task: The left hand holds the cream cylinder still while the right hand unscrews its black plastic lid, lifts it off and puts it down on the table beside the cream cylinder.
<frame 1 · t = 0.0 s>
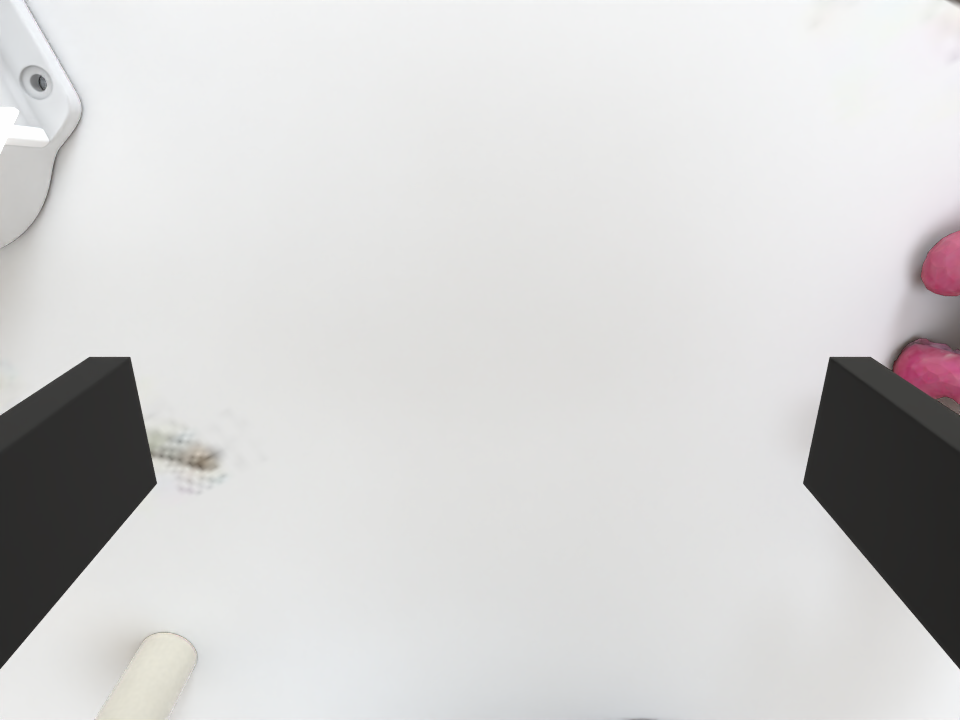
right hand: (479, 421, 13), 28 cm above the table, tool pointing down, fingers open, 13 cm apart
cream cylinder: (168, 654, 51), on the table
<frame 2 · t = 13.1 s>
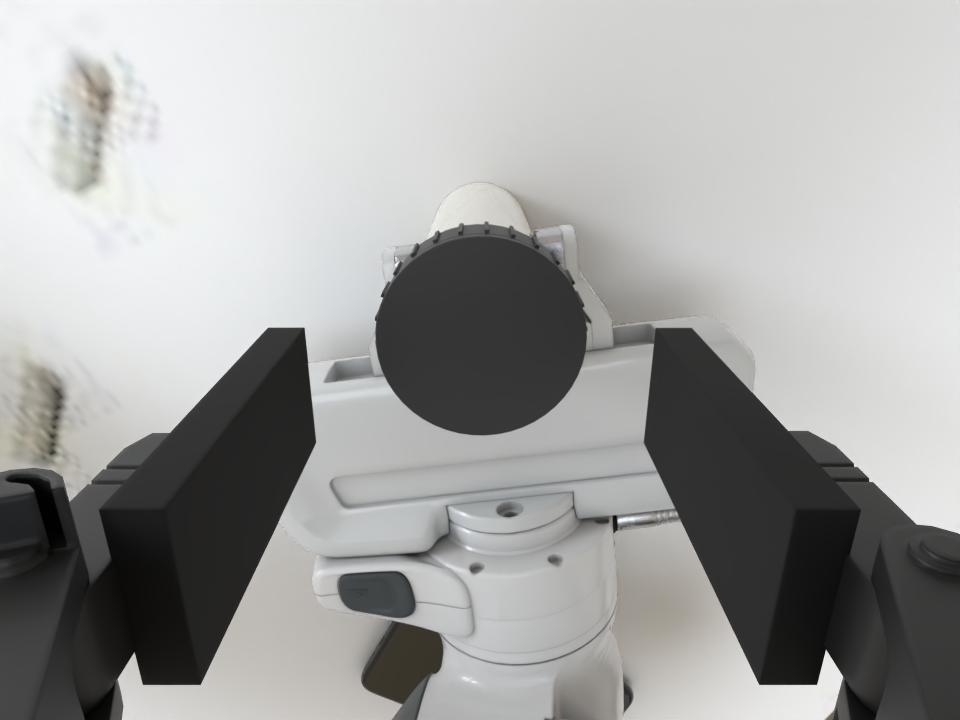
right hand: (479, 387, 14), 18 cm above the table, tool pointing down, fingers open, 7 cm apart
left hand: (476, 238, 25), fingers closed on cream cylinder, 4 cm apart
cream cylinder: (480, 230, 31), on the table, touching left hand
lid: (481, 337, 17), point 15 cm above the table, screwed on, not yet turned
smartphone: (497, 678, 42), on the table
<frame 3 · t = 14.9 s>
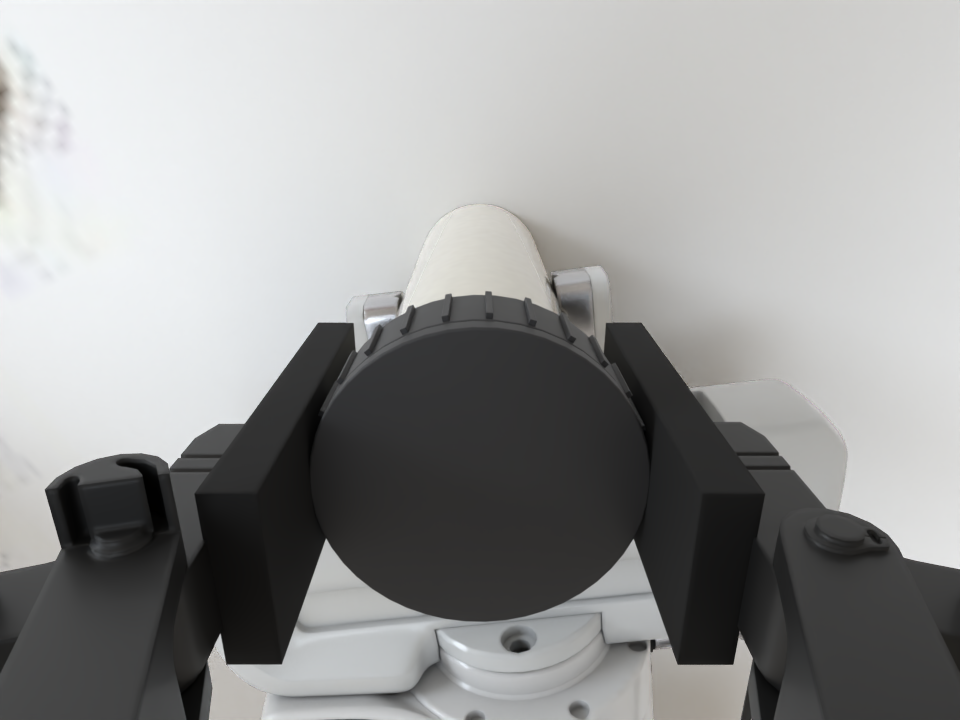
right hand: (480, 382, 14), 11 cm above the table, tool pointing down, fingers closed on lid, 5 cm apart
cream cylinder: (479, 263, 25), on the table, touching left hand
lid: (479, 477, 11), point 15 cm above the table, screwed on, not yet turned, touching right hand
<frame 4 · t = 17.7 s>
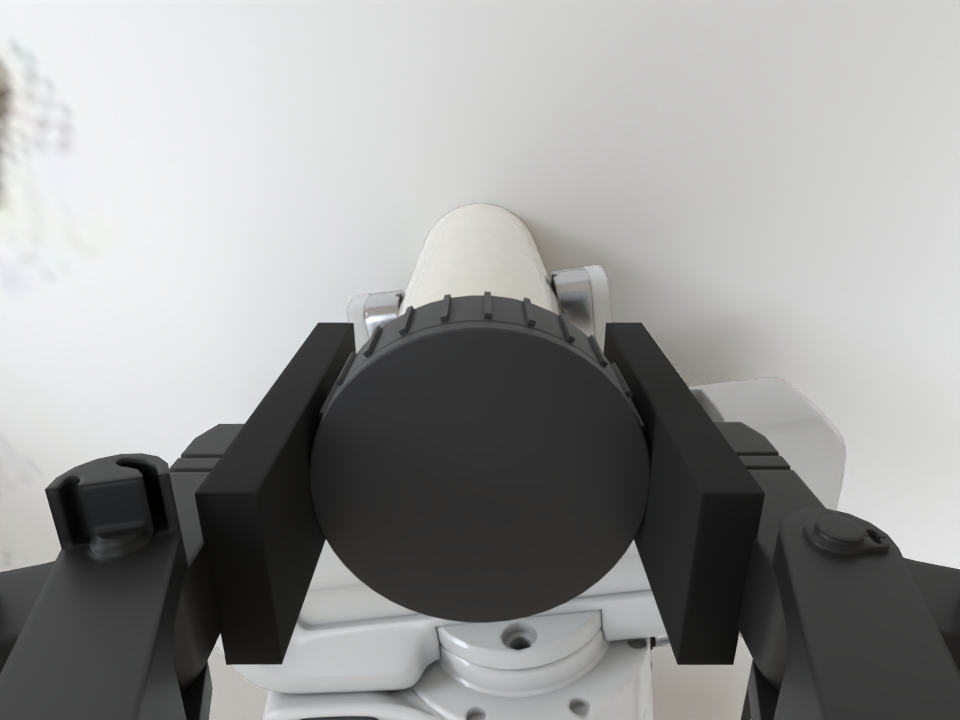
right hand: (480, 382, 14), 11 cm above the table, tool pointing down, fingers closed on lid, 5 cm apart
cream cylinder: (479, 262, 25), on the table, touching left hand
lid: (479, 478, 11), point 15 cm above the table, turned 83° so far, risen 0.1 cm, still on its thread, touching right hand
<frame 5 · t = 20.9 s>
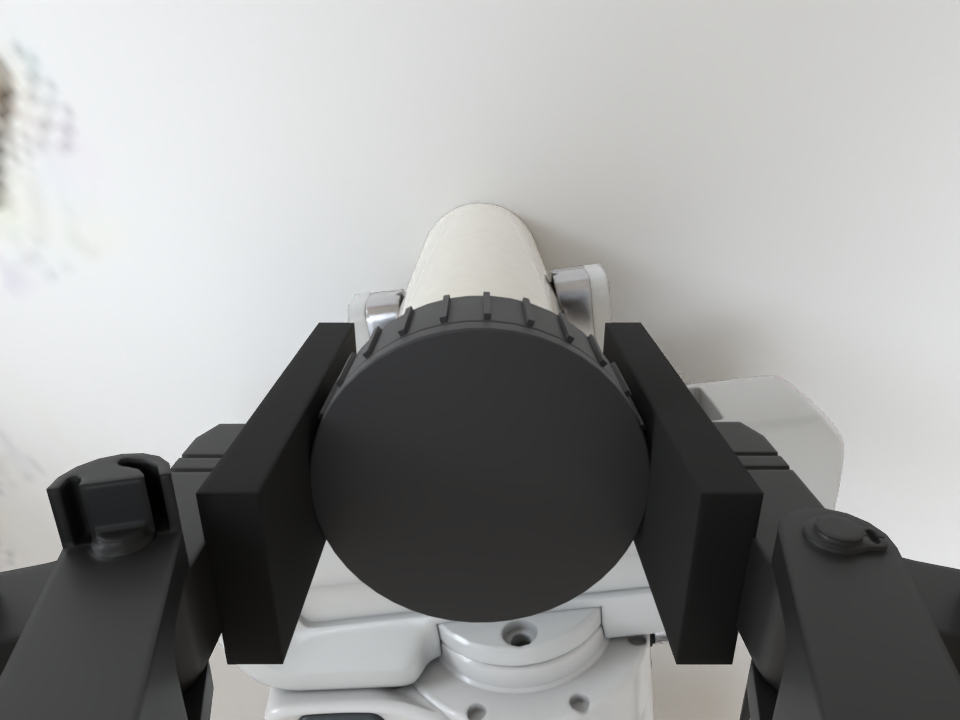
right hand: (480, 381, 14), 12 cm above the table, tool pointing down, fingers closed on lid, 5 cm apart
cream cylinder: (480, 261, 25), on the table, touching left hand
lid: (480, 478, 11), point 15 cm above the table, turned 167° so far, risen 0.3 cm, still on its thread, touching right hand
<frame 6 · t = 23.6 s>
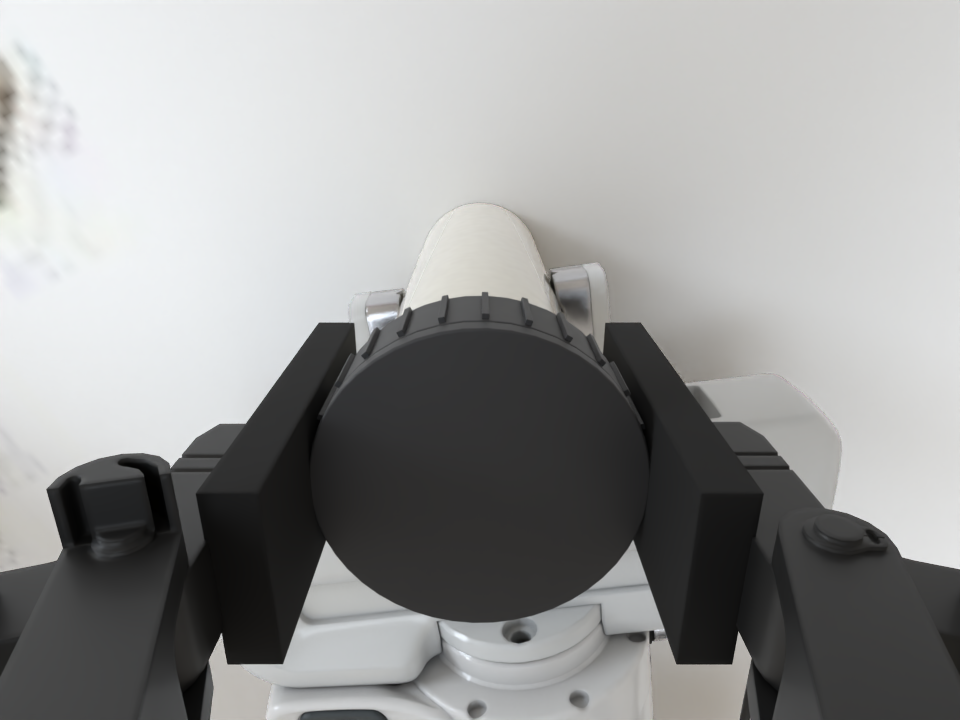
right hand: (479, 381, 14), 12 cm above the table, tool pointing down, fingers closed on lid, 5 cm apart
cream cylinder: (479, 261, 25), on the table, touching left hand
lid: (479, 478, 11), point 16 cm above the table, turned 250° so far, risen 0.4 cm, still on its thread, touching right hand
when the right hand's fingers open (0 cm above the table, at t = 33.9 s): lid drops 3 cm, point 1 cm above the table.
when the left hand's fingers open (7 cm above the table, at t = 34.6 s): cream cylinder stays where it is, on the table.
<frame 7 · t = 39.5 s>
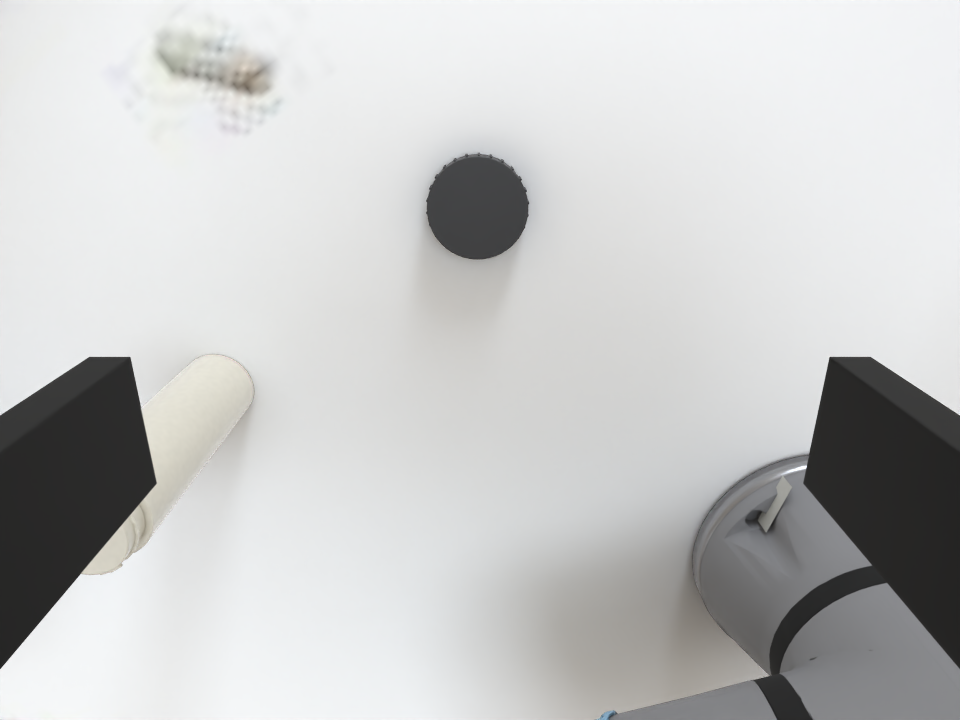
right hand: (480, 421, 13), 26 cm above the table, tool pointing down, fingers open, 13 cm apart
cream cylinder: (218, 387, 41), on the table
lid: (477, 208, 35), point 1 cm above the table, off its thread
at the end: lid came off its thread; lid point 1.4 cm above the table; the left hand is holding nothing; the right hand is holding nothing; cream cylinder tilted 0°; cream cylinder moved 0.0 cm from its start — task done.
